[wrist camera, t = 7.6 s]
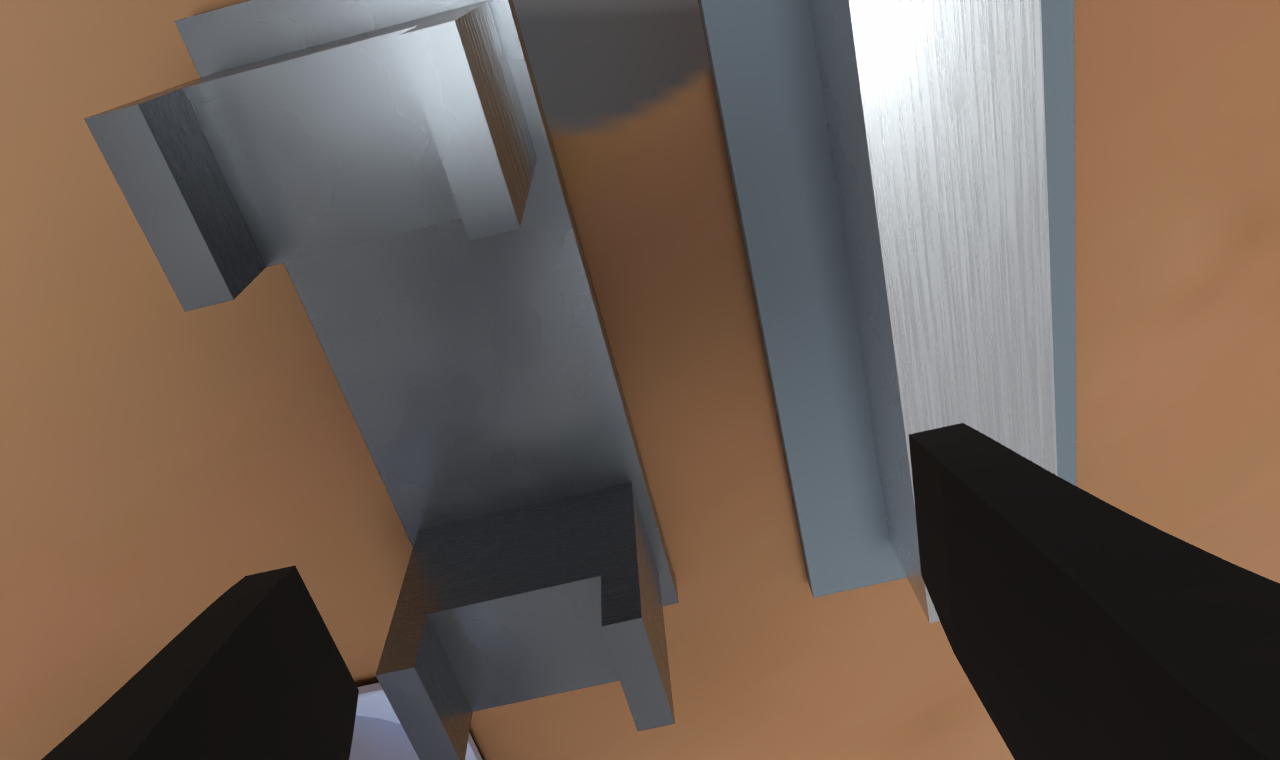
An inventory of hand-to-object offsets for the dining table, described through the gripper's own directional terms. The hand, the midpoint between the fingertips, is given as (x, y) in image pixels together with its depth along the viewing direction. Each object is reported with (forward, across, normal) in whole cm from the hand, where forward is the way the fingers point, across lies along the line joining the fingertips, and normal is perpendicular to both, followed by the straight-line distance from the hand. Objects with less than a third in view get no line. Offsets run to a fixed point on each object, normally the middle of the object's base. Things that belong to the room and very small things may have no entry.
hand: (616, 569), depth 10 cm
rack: (+10, +3, +1) cm, 11 cm away
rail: (+8, -5, +1) cm, 10 cm away
